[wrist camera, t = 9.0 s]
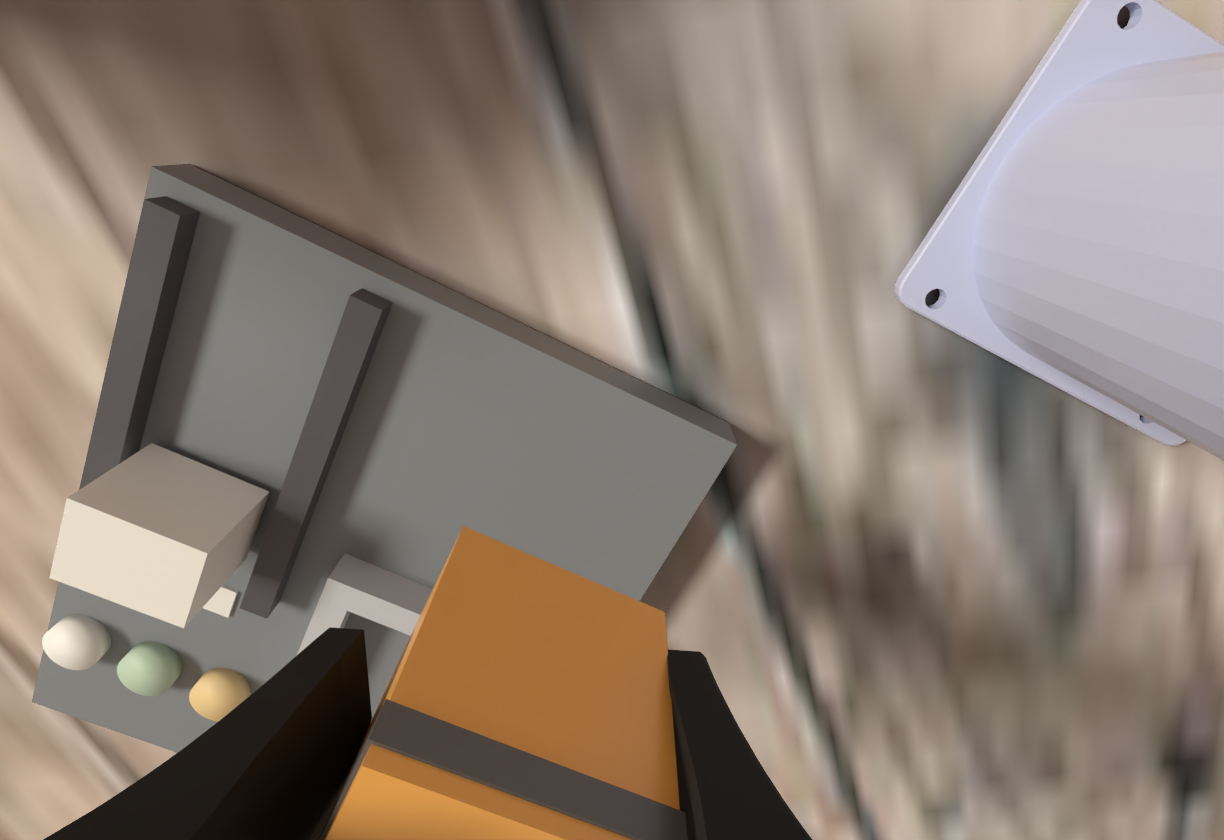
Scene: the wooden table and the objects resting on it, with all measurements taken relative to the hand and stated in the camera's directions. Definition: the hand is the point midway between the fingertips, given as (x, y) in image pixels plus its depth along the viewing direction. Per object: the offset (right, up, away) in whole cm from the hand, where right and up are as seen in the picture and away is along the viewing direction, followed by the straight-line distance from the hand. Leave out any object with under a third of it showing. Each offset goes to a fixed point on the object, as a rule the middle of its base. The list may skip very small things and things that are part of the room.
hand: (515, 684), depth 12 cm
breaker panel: (-6, 0, +9) cm, 11 cm away
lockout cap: (0, 0, +1) cm, 1 cm away
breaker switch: (-9, +2, +7) cm, 12 cm away
